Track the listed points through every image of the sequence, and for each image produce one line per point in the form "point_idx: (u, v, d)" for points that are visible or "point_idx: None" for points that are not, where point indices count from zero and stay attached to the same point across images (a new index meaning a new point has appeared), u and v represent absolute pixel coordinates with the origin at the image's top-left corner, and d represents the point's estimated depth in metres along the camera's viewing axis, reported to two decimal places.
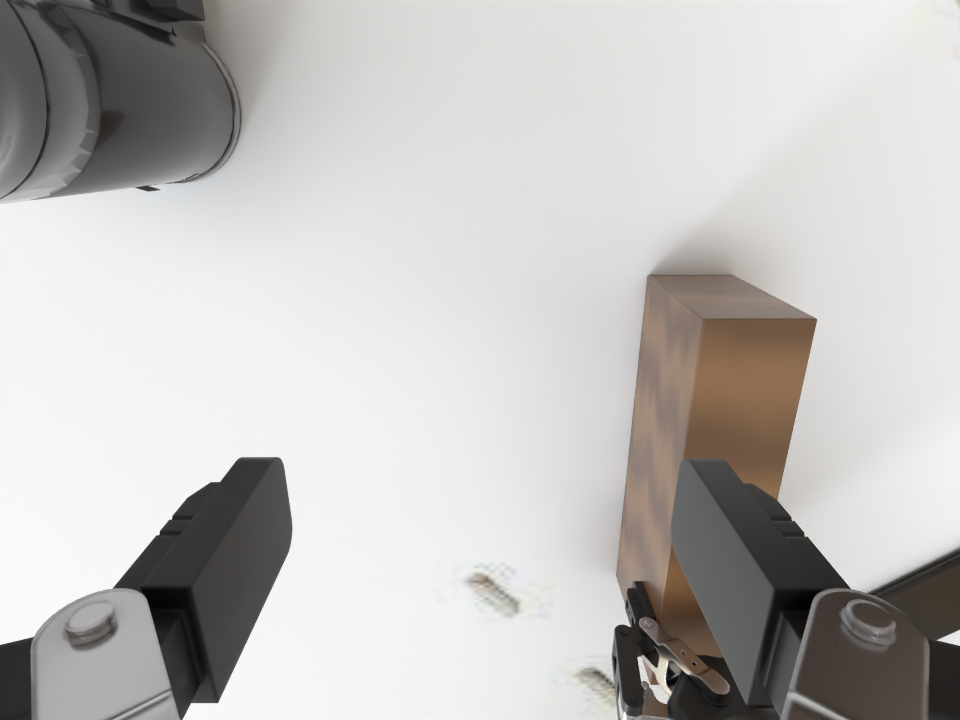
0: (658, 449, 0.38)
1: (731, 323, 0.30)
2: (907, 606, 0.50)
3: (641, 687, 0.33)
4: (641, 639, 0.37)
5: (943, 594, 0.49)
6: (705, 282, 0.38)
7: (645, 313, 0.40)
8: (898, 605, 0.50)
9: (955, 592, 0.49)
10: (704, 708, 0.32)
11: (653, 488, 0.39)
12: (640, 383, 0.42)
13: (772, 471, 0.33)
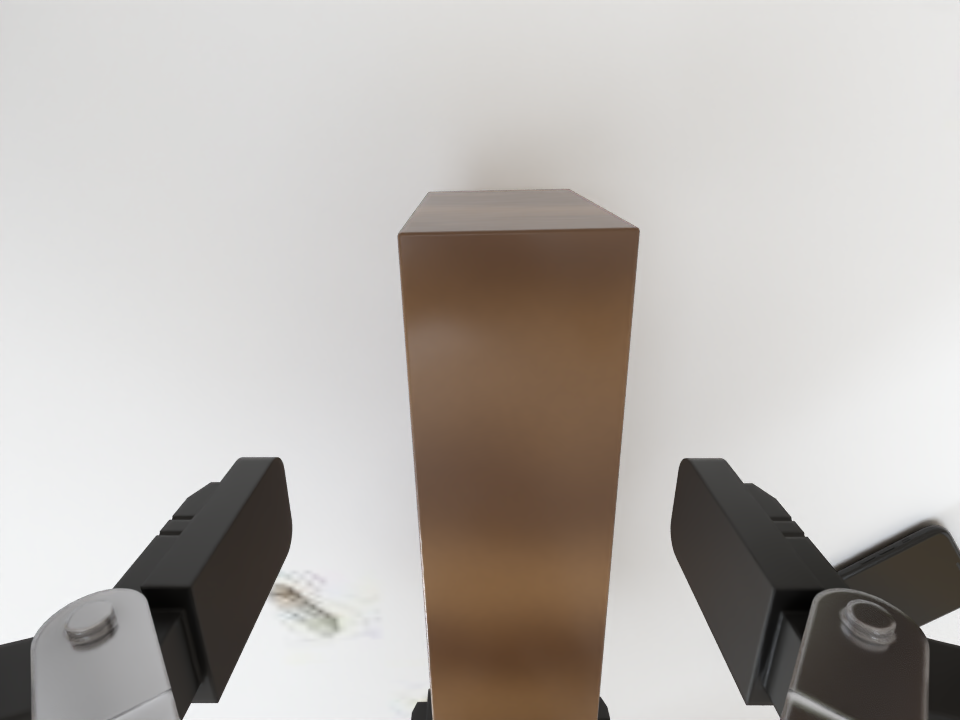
0: None
1: (458, 242, 0.14)
2: None
3: None
4: None
5: None
6: (506, 195, 0.22)
7: None
8: None
9: (882, 595, 0.39)
10: None
11: None
12: None
13: (592, 534, 0.18)
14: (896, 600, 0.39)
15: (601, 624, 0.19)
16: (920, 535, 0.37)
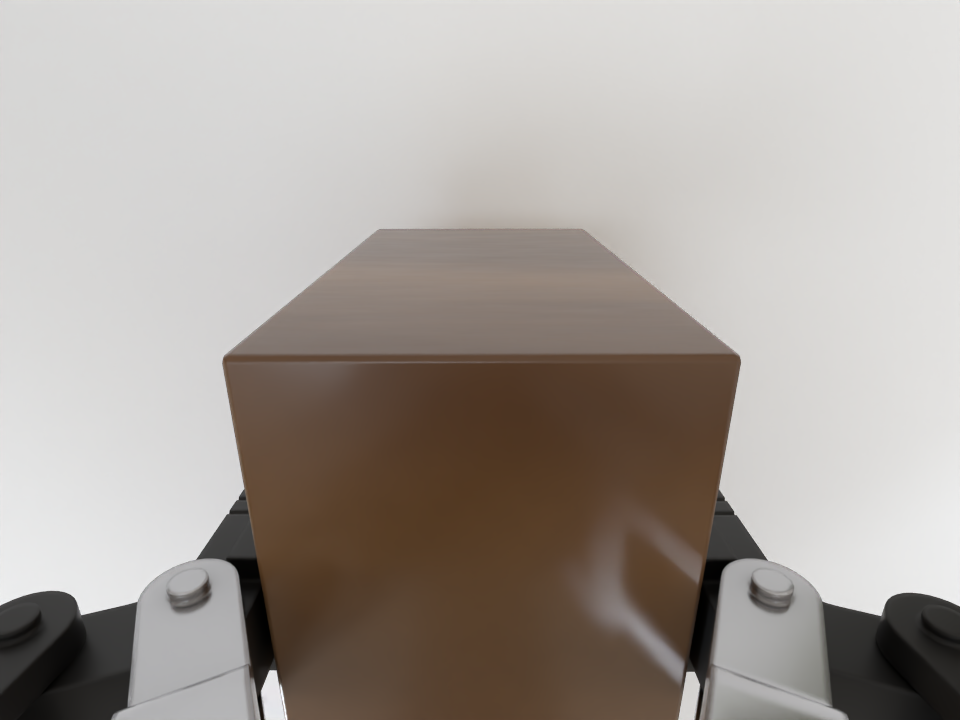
0: None
1: (352, 378, 0.07)
2: None
3: None
4: None
5: None
6: (488, 241, 0.14)
7: None
8: None
9: None
10: None
11: None
12: None
13: None
14: None
15: None
16: None
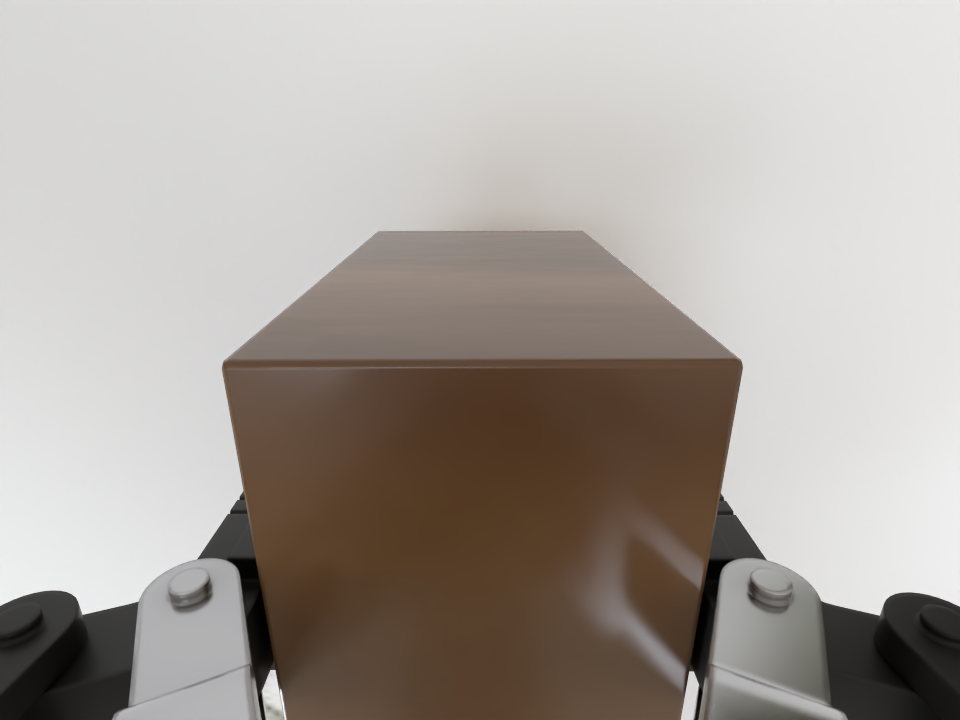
0: None
1: (352, 383, 0.07)
2: None
3: None
4: None
5: None
6: (488, 243, 0.14)
7: None
8: None
9: None
10: None
11: None
12: None
13: None
14: None
15: None
16: None
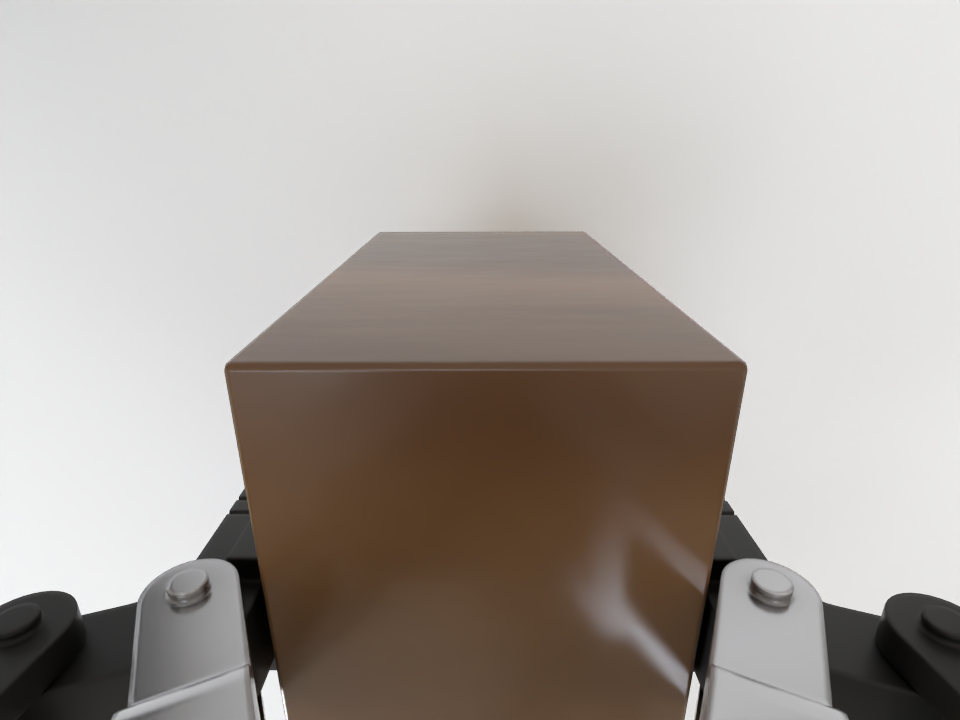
0: None
1: (355, 385, 0.07)
2: None
3: None
4: None
5: None
6: (489, 244, 0.14)
7: None
8: None
9: None
10: None
11: None
12: None
13: None
14: None
15: None
16: None
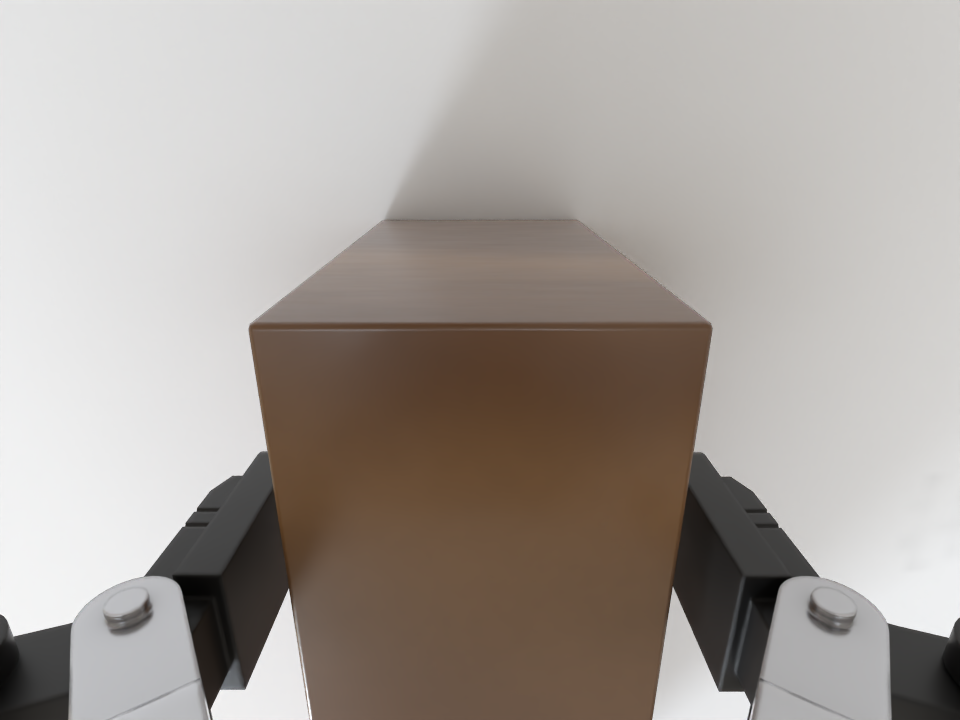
0: None
1: (365, 344, 0.07)
2: None
3: None
4: None
5: None
6: (487, 230, 0.15)
7: None
8: None
9: None
10: None
11: None
12: None
13: None
14: None
15: None
16: None
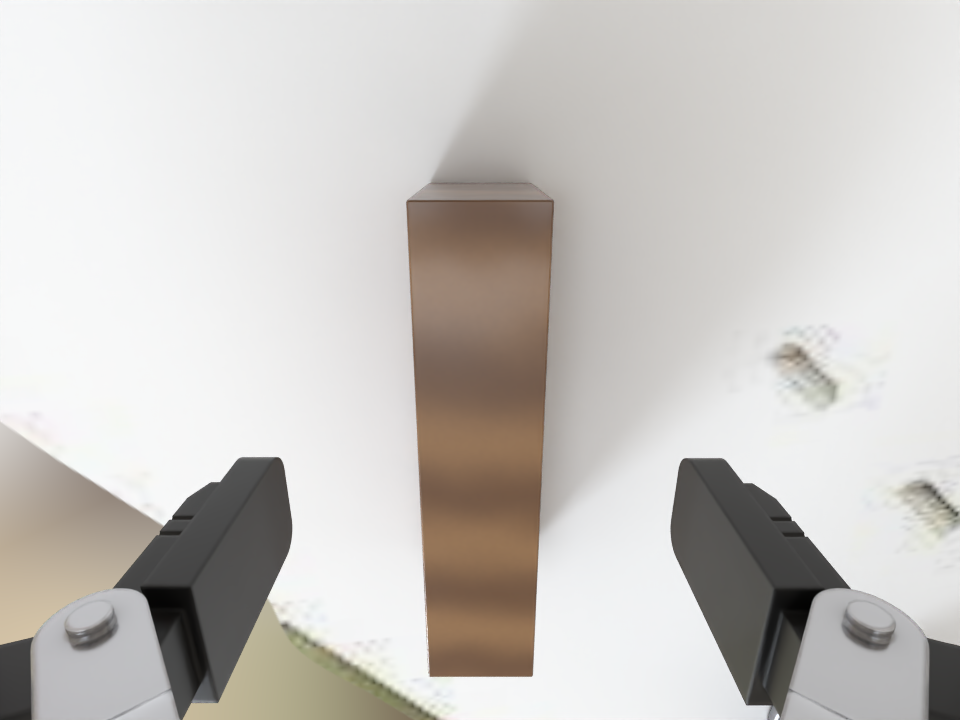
0: None
1: (443, 206, 0.23)
2: None
3: None
4: None
5: None
6: (483, 185, 0.31)
7: None
8: None
9: None
10: None
11: None
12: None
13: (530, 407, 0.27)
14: None
15: (538, 475, 0.28)
16: None
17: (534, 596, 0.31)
